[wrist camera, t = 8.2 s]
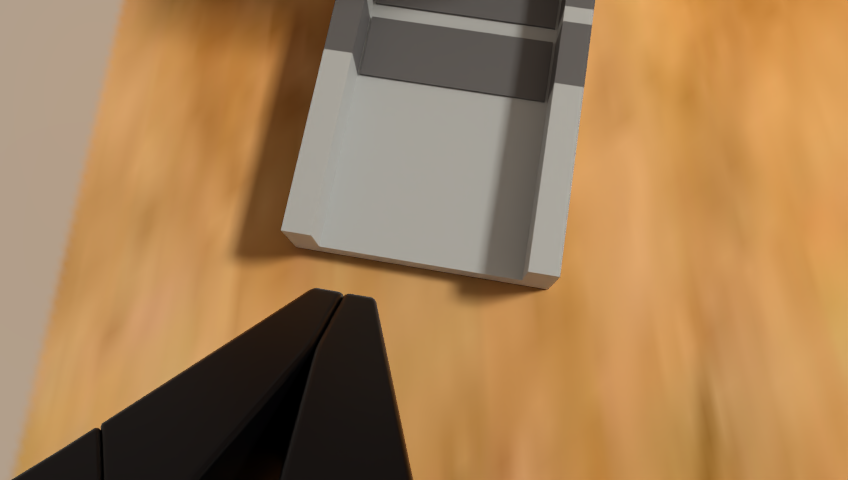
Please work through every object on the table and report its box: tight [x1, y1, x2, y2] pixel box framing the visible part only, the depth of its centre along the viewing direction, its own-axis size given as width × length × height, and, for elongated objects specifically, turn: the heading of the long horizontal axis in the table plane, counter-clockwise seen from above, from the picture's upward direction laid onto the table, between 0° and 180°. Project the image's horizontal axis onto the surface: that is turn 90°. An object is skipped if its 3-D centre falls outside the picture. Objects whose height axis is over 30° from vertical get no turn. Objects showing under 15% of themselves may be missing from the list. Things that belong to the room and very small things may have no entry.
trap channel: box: [281, 0, 595, 289], centre depth 24 cm, size 17×9×2 cm, turn 170°
